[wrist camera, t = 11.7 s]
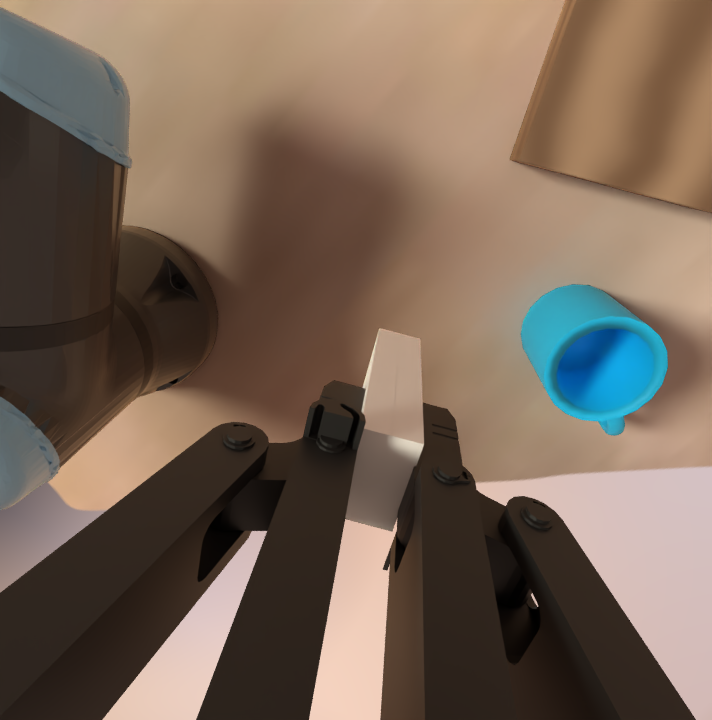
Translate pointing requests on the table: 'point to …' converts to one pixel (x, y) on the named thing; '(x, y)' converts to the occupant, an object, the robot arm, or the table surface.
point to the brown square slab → (627, 99)
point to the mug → (593, 355)
